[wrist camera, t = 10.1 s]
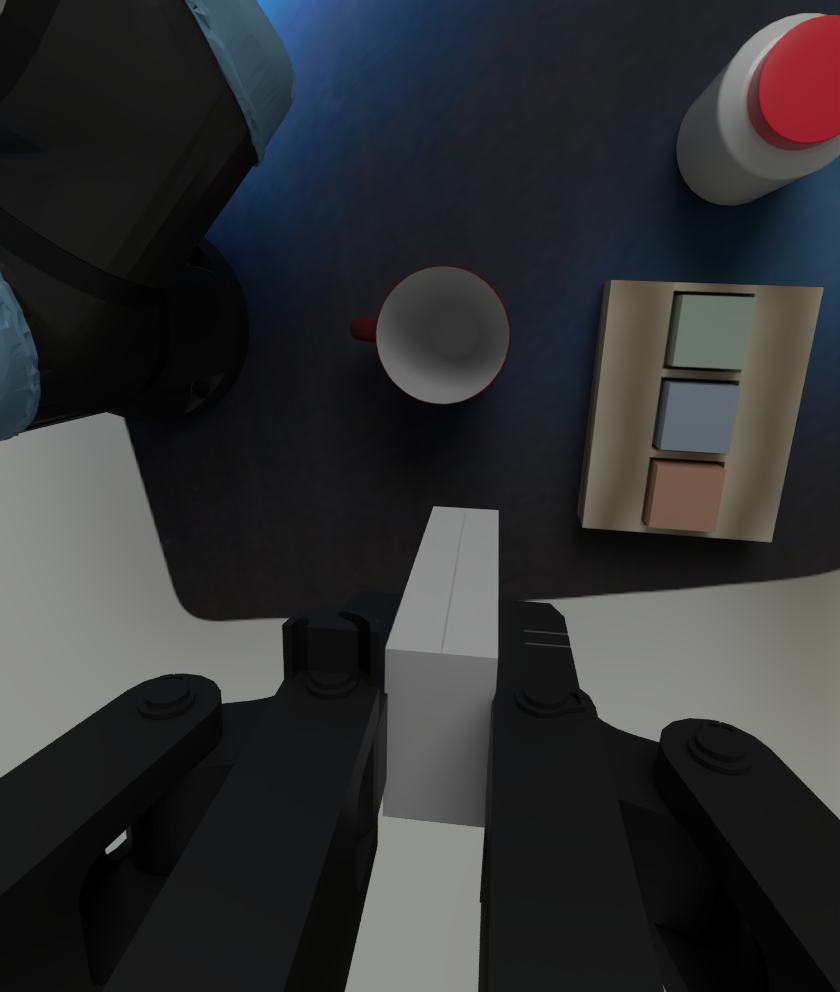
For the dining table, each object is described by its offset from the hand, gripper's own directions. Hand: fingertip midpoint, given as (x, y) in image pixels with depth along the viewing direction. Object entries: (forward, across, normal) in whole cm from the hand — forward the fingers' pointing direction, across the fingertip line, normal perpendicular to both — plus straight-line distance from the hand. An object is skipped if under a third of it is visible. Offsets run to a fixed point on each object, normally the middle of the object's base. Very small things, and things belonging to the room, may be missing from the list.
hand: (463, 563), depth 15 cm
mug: (+34, -4, +4) cm, 35 cm away
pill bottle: (+34, +15, +17) cm, 41 cm away
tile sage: (+32, +14, +5) cm, 36 cm away
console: (+34, +14, -1) cm, 37 cm away
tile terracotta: (+32, +14, -6) cm, 36 cm away
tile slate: (+32, +14, -1) cm, 35 cm away
